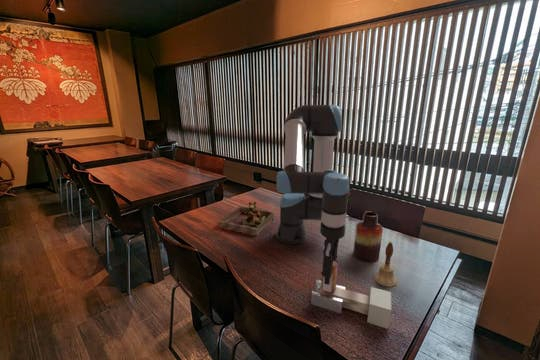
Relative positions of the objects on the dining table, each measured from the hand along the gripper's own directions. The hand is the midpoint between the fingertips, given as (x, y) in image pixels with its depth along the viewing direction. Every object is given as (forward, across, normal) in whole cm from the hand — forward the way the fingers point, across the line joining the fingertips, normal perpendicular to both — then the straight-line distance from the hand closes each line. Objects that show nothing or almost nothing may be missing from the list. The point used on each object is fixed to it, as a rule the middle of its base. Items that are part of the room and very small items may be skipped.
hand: (328, 284), depth 85 cm
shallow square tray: (+7, +41, +54) cm, 68 cm away
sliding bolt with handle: (+6, 0, -8) cm, 9 cm away
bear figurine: (+7, +42, +50) cm, 66 cm away
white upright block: (+7, 0, -16) cm, 18 cm away
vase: (+7, +34, -10) cm, 36 cm away
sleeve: (+7, 0, 0) cm, 7 cm away
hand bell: (+7, +20, -18) cm, 28 cm away
